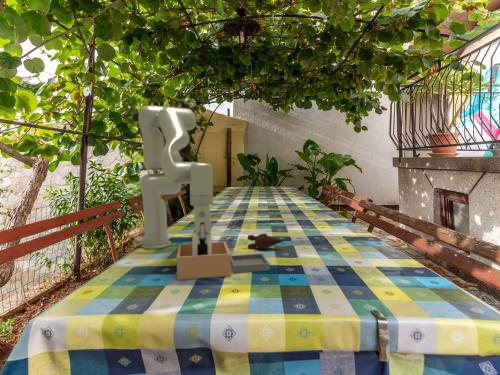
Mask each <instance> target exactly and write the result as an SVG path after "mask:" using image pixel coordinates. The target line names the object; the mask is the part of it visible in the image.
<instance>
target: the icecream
mask: <svg viewBox="0 0 500 375" xmlns="http://www.w3.org/2000/svg"><path fill="white" fill-rule="evenodd" d="M246 238H247V239H248V240H249V241H252V242H253V241H254V242H253V243H250V244H248V245H247V249H249V250H252V249H256V248H257V249H260V250H263V251H264V250H268V248H270V247H272V246H275V245H278V244H280V243H283V242H284V240H282V239H280V238H276V237H273V236H270V235H267V233H266V232H264V233H260V234H258V235H254V234H249V235H248V236H247V237H246Z"/></svg>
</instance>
